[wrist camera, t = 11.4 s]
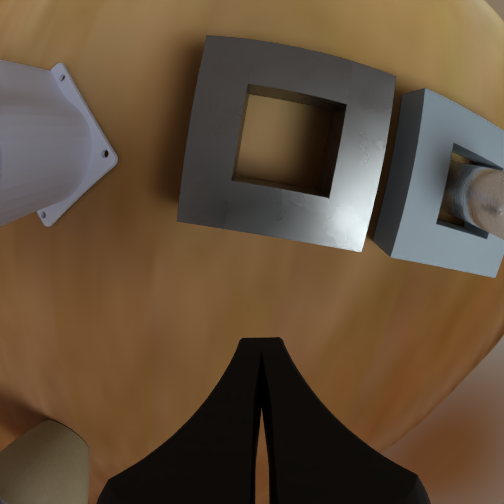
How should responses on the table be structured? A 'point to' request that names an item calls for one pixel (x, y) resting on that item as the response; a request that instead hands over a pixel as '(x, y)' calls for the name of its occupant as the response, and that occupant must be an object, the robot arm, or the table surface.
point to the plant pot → (45, 467)
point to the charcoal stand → (273, 193)
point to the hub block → (436, 185)
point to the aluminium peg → (475, 196)
